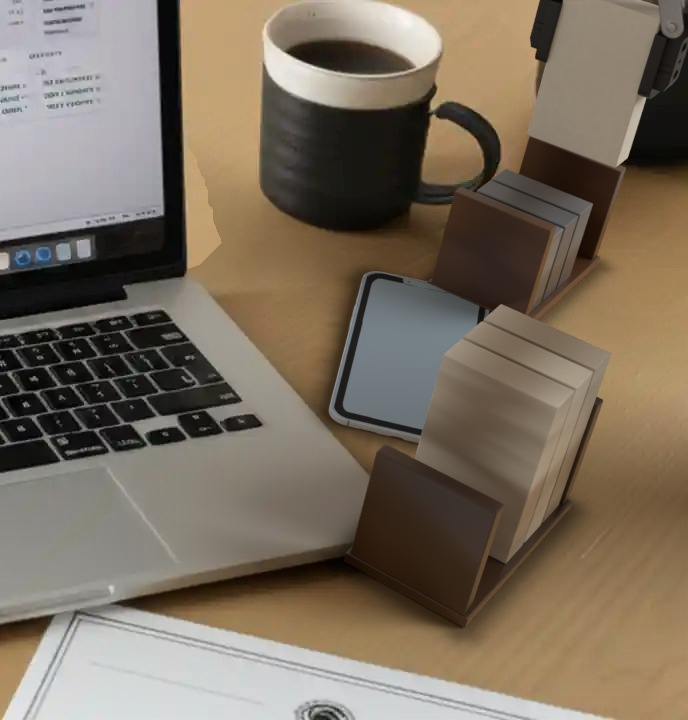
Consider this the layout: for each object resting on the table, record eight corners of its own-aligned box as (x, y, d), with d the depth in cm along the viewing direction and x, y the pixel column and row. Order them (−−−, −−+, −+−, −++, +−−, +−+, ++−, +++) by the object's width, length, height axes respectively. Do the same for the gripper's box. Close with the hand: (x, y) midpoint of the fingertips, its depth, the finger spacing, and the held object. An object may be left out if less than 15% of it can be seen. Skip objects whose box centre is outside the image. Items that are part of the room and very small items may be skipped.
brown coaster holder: (597, 265, 100) (629, 168, 96) (523, 333, 93) (554, 232, 89) (504, 225, 103) (531, 130, 99) (425, 289, 96) (451, 189, 92)
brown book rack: (569, 509, 80) (627, 348, 75) (464, 628, 73) (519, 459, 67) (455, 452, 83) (502, 293, 78) (342, 561, 76) (386, 393, 70)
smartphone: (325, 415, 84) (364, 267, 96) (323, 428, 85) (361, 279, 97) (471, 449, 83) (492, 295, 95) (467, 462, 84) (488, 307, 95)
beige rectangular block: (628, 158, 95) (674, 10, 90) (615, 168, 93) (661, 19, 88) (539, 125, 97) (579, -21, 92) (526, 135, 96) (565, -12, 91)
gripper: (854, -212, 82) (745, 98, 92) (584, -277, 89) (509, 17, 99) (805, -184, 77) (696, 141, 87) (523, -255, 84) (451, 53, 94)
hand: (597, 74), depth 93 cm, fingers closed on beige rectangular block, 5 cm apart
